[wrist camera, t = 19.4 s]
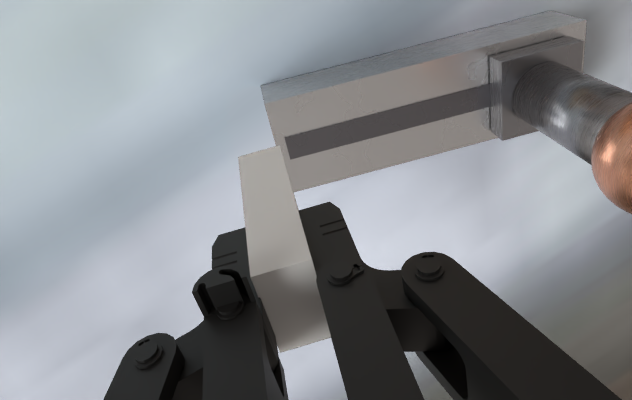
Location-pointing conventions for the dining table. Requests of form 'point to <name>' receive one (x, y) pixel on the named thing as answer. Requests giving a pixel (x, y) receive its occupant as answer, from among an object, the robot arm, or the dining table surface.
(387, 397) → the robot arm
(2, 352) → the dining table surface
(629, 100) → the lever handle
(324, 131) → the lever track
